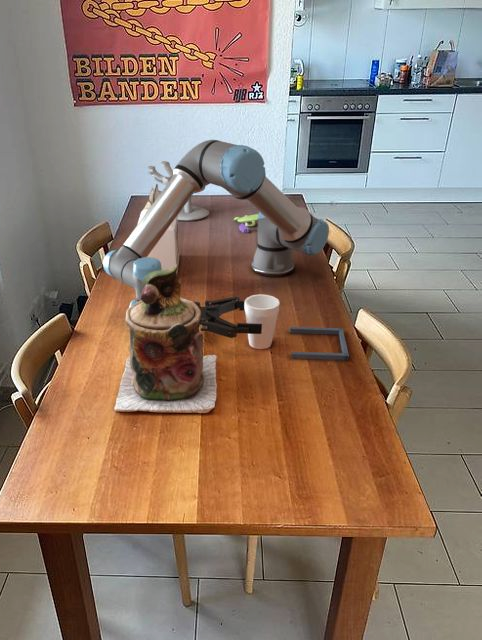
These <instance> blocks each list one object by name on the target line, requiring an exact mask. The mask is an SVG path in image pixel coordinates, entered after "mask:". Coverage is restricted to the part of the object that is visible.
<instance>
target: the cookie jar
mask: <svg viewBox="0 0 482 640" xmlns="http://www.w3.org/2000/svg"><path fill="white" fill-rule="evenodd" d="M177 267H178V268H179V264H178V265H175V266H174V268H173V269H171V270H158V271H153V272H151V273H149V274H147V275H146V276H145V277H144V279H143V281H142V290H143V291H142V293H141V295H140V299H141V301H139V302H137V303H135V304H133V305H132V306H131V307H130V306H129V307H128V308H127V309H126V311H125V319H124V320H125V325H126V326H127V327H128V329H129V334H130V335H129V343H128V353H129V356H128V357H127V358H126V360H125V366H124V371H123V373H122V376H121V379H120V382H119V389H118V393H117V396H116V401H115V406H114V411H115V412H125V413H129V412H151V413H193V414H194V413H198V414H207V413H209V412H211V410H213V409H214V408H215V405H216V401H217V397H218V395H217V393H218V392H217V388H218V384H217V359H218V356H217V355H216V354H210V355H209V354H208V355H204V334H203V333H202V331H201V330H200V329H199V328H200V327H199V328H198V324H199V321H200V319H201V310H200V309H199V307H198V306H197V305H196V304H195V303H194V302H195V301H192V300H190V299H187V298H183V297H181V296H180V295H181V290H182V283H181V282H180V281H179V279H180V277H179V275H178V272H177V273H176V271H177Z"/></svg>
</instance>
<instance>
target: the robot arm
mask: <svg viewBox="0 0 482 640" xmlns="http://www.w3.org/2000/svg"><path fill="white" fill-rule="evenodd" d="M186 153H187V154H184V156H183V157H182V158H181V159H180V160H179V162H177V164H176V165H175V167H174V168H173V169H172V170H173V177H172V178H171V180H170V181H169V182H168V184H167V185H164V187H163V188H162V190H161V191H162V192H161V193H160V195H159V196H158V197H157V199H156V200H155V202H154V203H153V204H152V206H151V207H150V208H149V210H148V211H147V213H146V214H145V215H144V217H143V218H142V219H141V221H140V222H139V223H138V222H137V224H138V225H136V226H135V228H134V229H132V232H131V233H130V234H129V236H128V237H127V238H126V240H125V241H124V242H123V244H122V246H121V247H120V248H119V249H118V250H116V249H114V250H111V251H109V252H108V253H106V254H105V256H104V258H103V261H102V265H103V266H102V267H103V269H104V270H103V271H105V273H106V275H107V274H108V275H109V276H111V278H113V279H114V280H117V281H119V282H121V283H122V284H124V285H127V286H129V287H130V288H132V289H134V290H135V299H133V300H131V301H130V303H129V308H130V307H131V306H132V305H133V304H135V303H137V302H139V301H141V299H140V295H141V293H142V291H143V290H142V281H143V279H144V277H145V276H146V275H147V274H149V273H151V272H153V271H158V270H162V268H161V263H160V261H159V260H158V259H156V258H150V257H147V256H148V255H149V254H150V252H151V251H152V250H153V248H154V247H155V245H156V244H157V243H158V241H159V240H160V239H161V237H162V236H163V235H164V233H165V232H166V230H167V229H168V228H169V226H170V225H171V224H172V222H173V221H174V219H175V218H176V217H177V215H178V214H179V213H180V211H181V210H182V209H183V207H184V206H185V204H186V203H187V202H188V200H189V199H190V198H191V199H192V197H191V196H193V195H194V194H196V193H195V192H198V193H200V192H199V191H200V190H201V189H202V187H203V186H204V185H206V184H208V183H210V184H211V185H214V186H217V187H220V188H223V189H224V190H226V191H227V192H228V193H229V194H230V195H231V196H232V197H233V198H235V199H236V200H238V201H246V202H247V203H249V204H250V205H251V206H252V207H253V208H254V209H256V210H257V211H258V213H257V214H258V222H257V236H256V237H257V241H256V250H255V252H254V255H253V258H252V260H251V263H250V264H251V267H250V268H251V271H252V272H253V273H254V274H257V275H259V276H262V277H268V278H278V277H279V278H280V277H285V276H288V275H290V274H292V273H293V272H294V270H295V262H294V260H293V255H292V251H291V250H294V251H296V252H299V253H302V254H304V255H309V256H316V255H317V254H319V253H321V251H322V250H323V249H324V247H325V246H326V244H327V242H328V238H329V233H330V226H329V224H328V222H327V221H325V220H323V218H320V219H319V218H318V217H315V216H314V215H313V214H312V213H311V212H310V211H309V210H308V209H306V208H304V207H300V206H296V204H295V203H294V202H292V201H291V200H290V199H289V197H287V196H286V195H285V194H284V193H283V192H282V190H280V189H279V187H277V186H276V185H275V184H274V183H273V182H272V181H271V180H270V179H269V178H268V177H267V175H266V173H267V172H266V167H264V165H265V161H264V158H263V156H262V155H261V154H260V152H259V151H257V149H254V148H253V147H250V146H248V145H243V144H234V143H230V142H226V141H222V140H218V139H208V140H204V141H202V142H200V143H198V144H196V145H195V146H194V147H192V148H191V149H190V150H189V151H187V152H186ZM208 185H209V184H208ZM193 302H194V303H195V304H196V305H197V306H198V307H199V309H200V310H201V319H200V321H199V324H198V328H200V332H209V333H212V334H216V335H218V336H219V335H220V336H223V337H226V338H230V339H234V338H237V336H238V334H243V335H244V334H245V335H246V334H247V335H248V334H262V324H252V323H247V322H237V323H236V324H235V323H233V322H230V321H228V320H226V319H223V318H222V317H221V316H222V315H224V314H227V313H231V312H233V311H235V310H238V311H242V312H243V311H244V312H245V309H244V304H245V300H240V297H239V296H232V297H225V298H221V299H215V300H205V301H204V306H201V303H200V302H199V301H193Z"/></svg>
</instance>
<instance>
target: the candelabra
mask: <svg viewBox="0 0 482 640" xmlns="http://www.w3.org/2000/svg"><path fill="white" fill-rule="evenodd" d="M187 153H188V152H186V154H187ZM186 154H185V155H186ZM160 164H162V165H164V166H163V168H164V170H165V172H166V173H167V174H168V176H166V175H163V174H161V173H159V171H157V169H156V166H154V165H149V166H147V169H148V170H152V171H148V172H147V173H148V175H151V177H152V179H153V180H154V181H156V182H157V183H159V184H162V185H164V186H166V185H167V184H168V182H169V181H170V180H171V178H172V177H173V170H174V169H172V167H171V164H170V161H165V160H162V161H160ZM210 184H211V183H208V184H206V185H204V186H203V187H202V189H201V190H200V191H199V192H195V193H194V194H197V193H201V192H203V191H204V190H205V189H206V186H208V185H210ZM192 196H193V195H192ZM192 196H191V198H190V199H189V200H188V202H187V203H186V204H185V206H184V207H183V209H182V210H181V211H180V213H179V214H178V221H182V222H183V221H184V222H187V221H188V222H189V221H190V222H191V221H198V220H202V219H204V218H206V217H208V216H209V214H210V211H209V210H208V209H207V208H204V207H201V206H197V205H193V204H192V203H193V202H192Z"/></svg>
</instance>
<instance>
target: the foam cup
mask: <svg viewBox="0 0 482 640" xmlns="http://www.w3.org/2000/svg"><path fill="white" fill-rule="evenodd" d="M244 301H245V304H244V309H245V311H244V314H245V320H246V321H245V322H246V323H252V324H262V334H247V338H248V339H247V340H248V345H249V346H250V347H251V348H253V349H256V350H267V349H268V348H270V347H271V346H272V343H273V339H274V334H275V329H276V324H277V319H278V315H279V312H280V305H281V304H280V300H279V299H278V298H277V297H275V296H273V295H269V294H261V293H260V294H259V293H258V294H253V295H252V294H251V295H250V296H247V297H246V298H245V300H244Z"/></svg>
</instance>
